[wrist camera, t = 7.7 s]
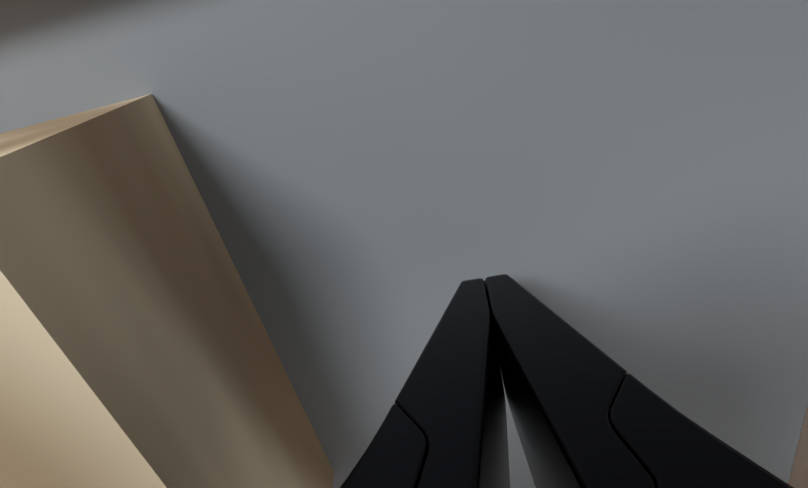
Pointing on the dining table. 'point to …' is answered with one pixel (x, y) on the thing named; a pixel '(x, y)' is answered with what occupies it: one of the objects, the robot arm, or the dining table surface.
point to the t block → (131, 322)
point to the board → (478, 180)
